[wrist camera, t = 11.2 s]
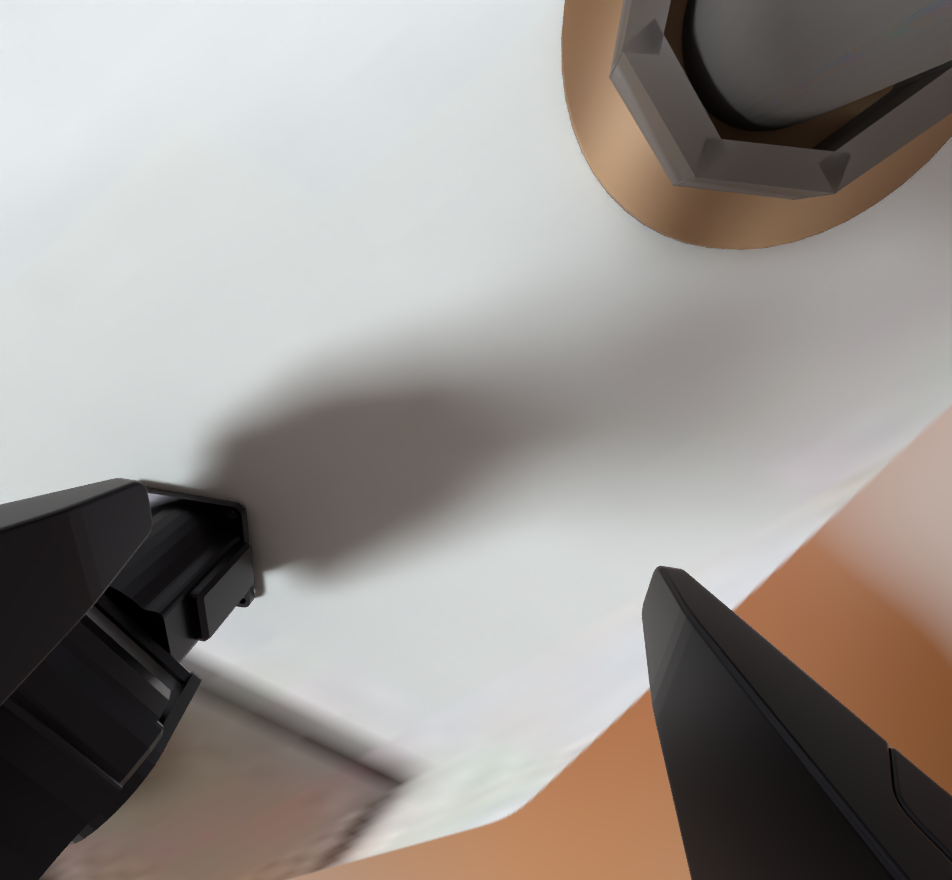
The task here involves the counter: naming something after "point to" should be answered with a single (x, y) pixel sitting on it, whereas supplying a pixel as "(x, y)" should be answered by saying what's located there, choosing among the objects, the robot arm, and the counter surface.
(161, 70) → the counter surface
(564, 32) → the ring coaster
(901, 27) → the bottle
